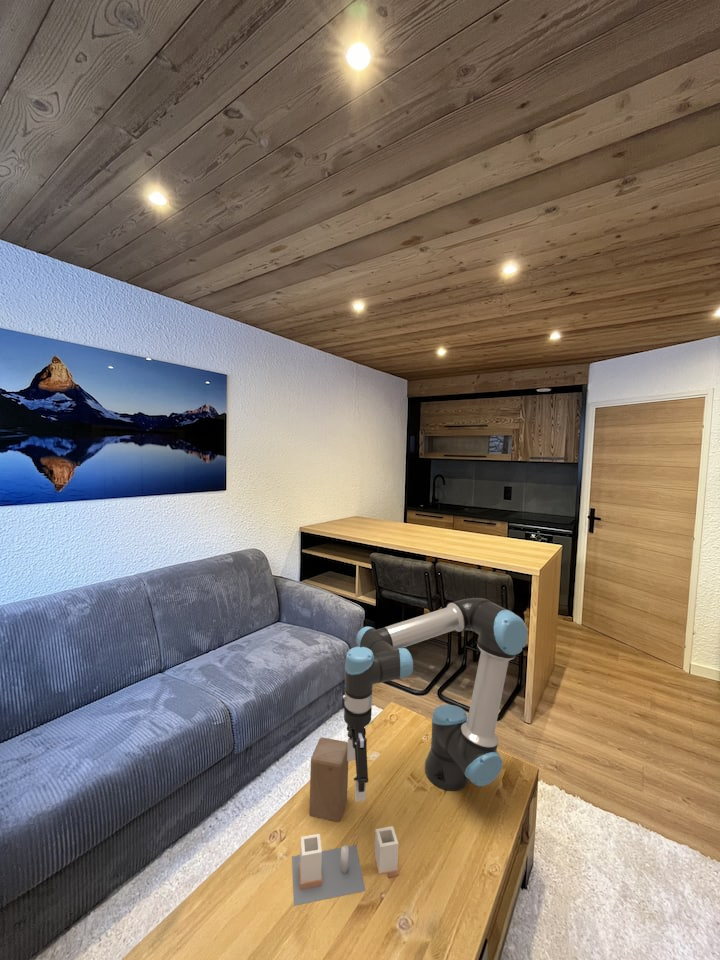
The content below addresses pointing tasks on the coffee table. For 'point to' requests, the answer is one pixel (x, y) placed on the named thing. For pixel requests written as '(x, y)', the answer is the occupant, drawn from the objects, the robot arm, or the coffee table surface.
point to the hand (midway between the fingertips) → (355, 778)
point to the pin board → (331, 876)
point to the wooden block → (329, 779)
